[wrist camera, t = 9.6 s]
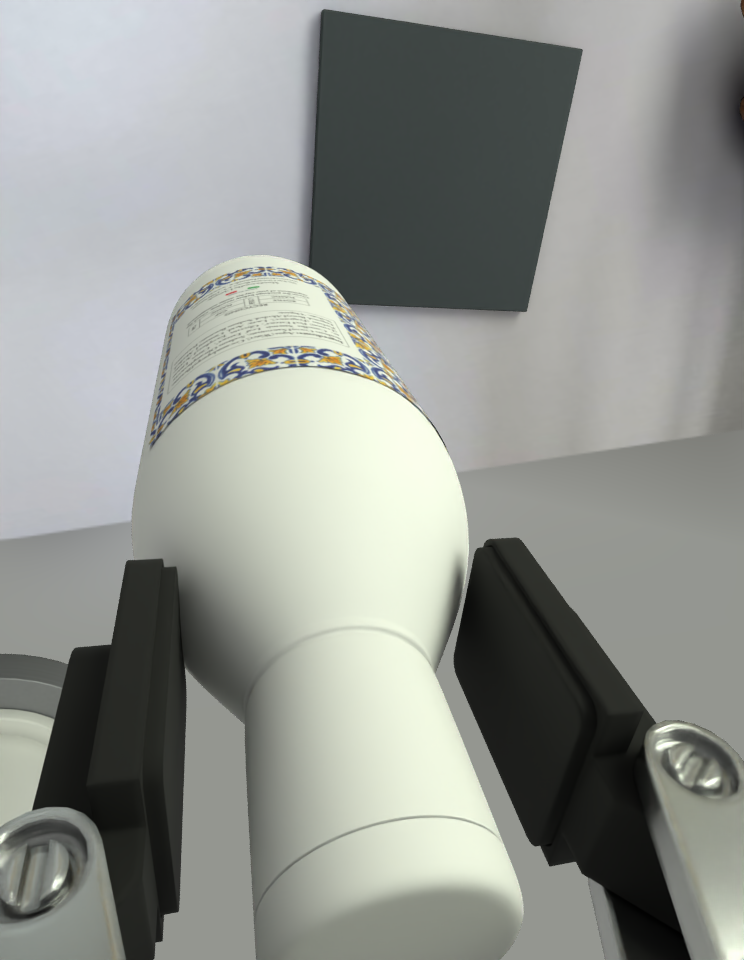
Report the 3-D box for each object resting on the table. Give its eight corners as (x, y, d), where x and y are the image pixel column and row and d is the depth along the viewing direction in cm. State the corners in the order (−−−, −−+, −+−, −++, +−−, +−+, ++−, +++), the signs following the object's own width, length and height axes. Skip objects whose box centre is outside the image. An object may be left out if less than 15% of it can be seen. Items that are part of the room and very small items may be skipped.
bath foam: (325, 449, 26) (533, 1071, 9) (149, 412, 24) (-1, 1156, 7) (381, 285, 23) (832, 751, 6) (188, 223, 21) (91, 708, 4)
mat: (523, 309, 41) (526, 312, 40) (307, 300, 38) (308, 302, 37) (578, 49, 34) (583, 48, 34) (321, 10, 31) (323, 8, 30)
